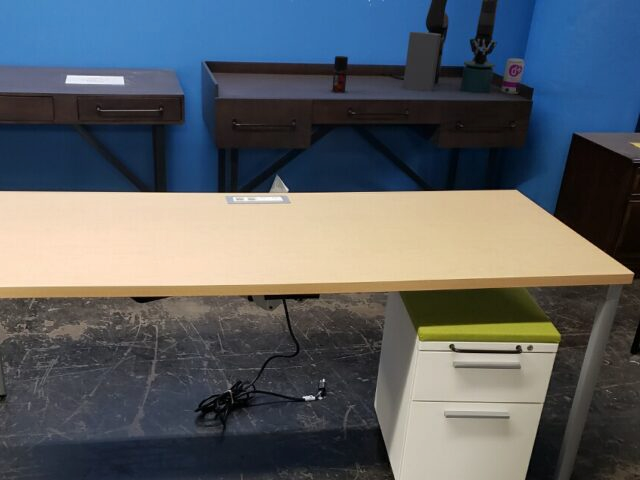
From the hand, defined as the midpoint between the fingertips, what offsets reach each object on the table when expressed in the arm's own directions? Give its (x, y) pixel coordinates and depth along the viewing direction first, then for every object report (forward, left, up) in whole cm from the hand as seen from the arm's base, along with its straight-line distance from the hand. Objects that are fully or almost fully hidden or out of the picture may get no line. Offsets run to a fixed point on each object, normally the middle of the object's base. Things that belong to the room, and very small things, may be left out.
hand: (479, 62), depth 368 cm
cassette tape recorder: (-19, -20, -13) cm, 30 cm away
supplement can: (+12, +12, -13) cm, 21 cm away
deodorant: (-38, -57, -13) cm, 70 cm away
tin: (0, 0, -13) cm, 13 cm away
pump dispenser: (-11, +19, -13) cm, 26 cm away
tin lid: (0, 0, -1) cm, 1 cm away
